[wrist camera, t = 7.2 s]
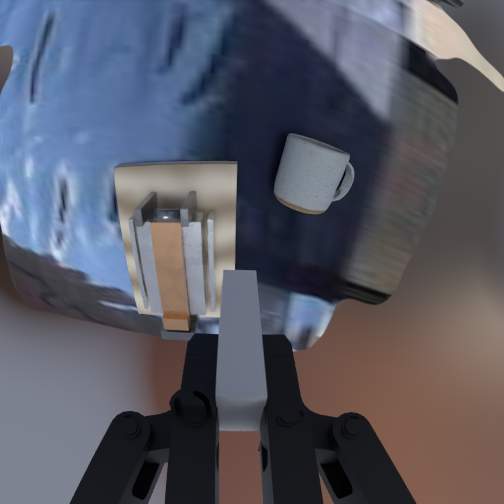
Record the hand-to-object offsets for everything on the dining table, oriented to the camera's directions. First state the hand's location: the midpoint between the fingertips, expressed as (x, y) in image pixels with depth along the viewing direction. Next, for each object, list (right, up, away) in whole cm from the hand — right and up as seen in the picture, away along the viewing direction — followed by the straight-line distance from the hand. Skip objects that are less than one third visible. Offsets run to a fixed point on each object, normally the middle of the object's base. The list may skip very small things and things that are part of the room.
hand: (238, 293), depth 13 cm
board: (-10, +3, +26) cm, 28 cm away
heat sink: (-10, +1, +25) cm, 27 cm away
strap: (-10, 0, +21) cm, 23 cm away
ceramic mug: (+9, +13, +22) cm, 27 cm away
